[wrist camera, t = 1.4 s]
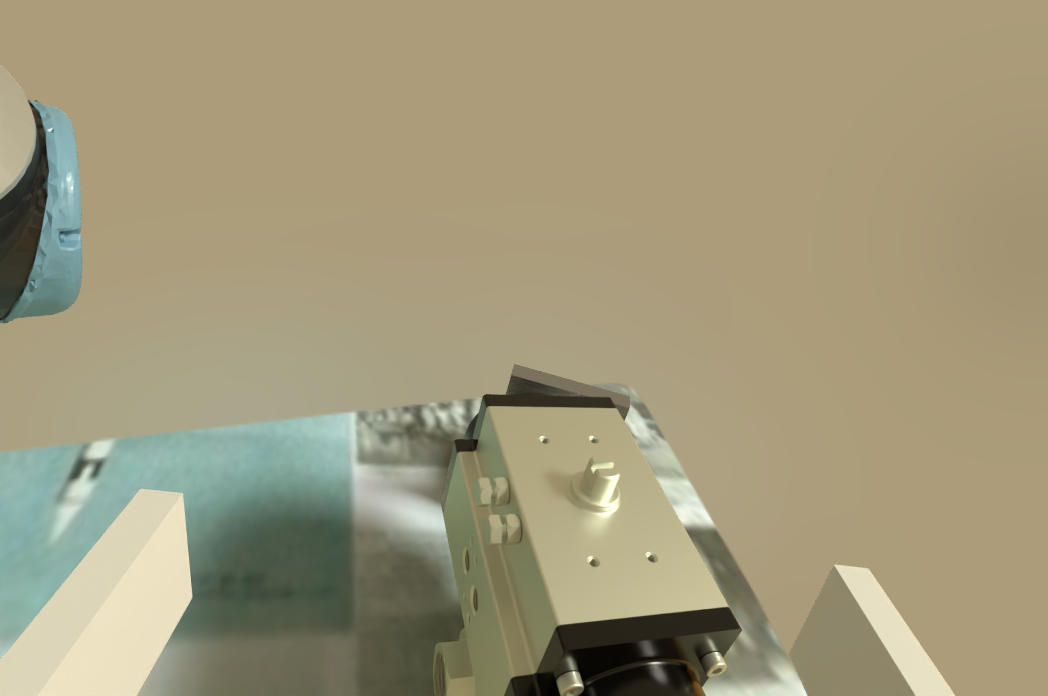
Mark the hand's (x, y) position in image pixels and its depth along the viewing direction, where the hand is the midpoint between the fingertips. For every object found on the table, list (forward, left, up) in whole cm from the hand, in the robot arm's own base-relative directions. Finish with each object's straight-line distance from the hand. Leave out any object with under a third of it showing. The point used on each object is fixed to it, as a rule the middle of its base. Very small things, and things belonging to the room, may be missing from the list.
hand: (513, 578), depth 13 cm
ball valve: (+3, +12, -24) cm, 27 cm away
